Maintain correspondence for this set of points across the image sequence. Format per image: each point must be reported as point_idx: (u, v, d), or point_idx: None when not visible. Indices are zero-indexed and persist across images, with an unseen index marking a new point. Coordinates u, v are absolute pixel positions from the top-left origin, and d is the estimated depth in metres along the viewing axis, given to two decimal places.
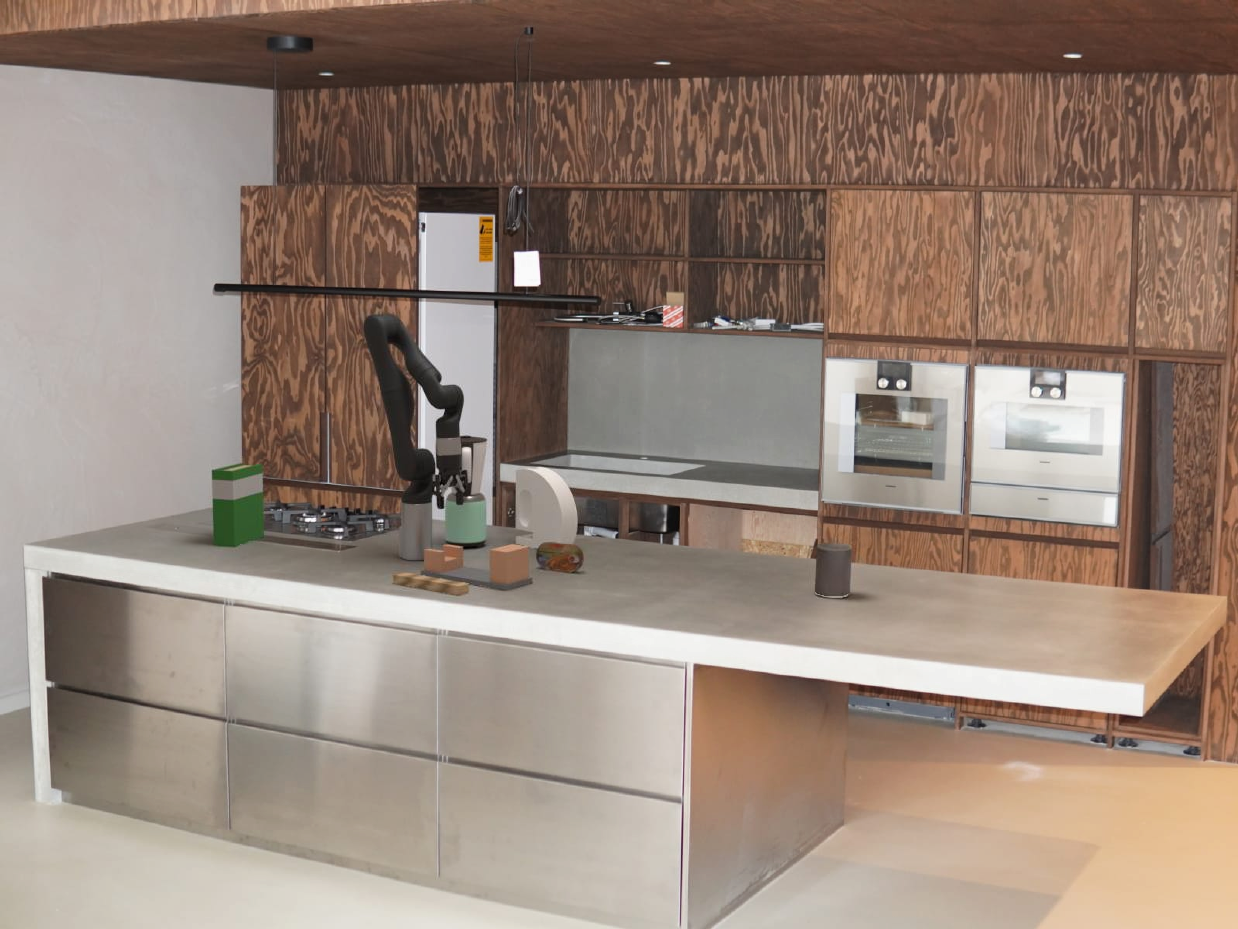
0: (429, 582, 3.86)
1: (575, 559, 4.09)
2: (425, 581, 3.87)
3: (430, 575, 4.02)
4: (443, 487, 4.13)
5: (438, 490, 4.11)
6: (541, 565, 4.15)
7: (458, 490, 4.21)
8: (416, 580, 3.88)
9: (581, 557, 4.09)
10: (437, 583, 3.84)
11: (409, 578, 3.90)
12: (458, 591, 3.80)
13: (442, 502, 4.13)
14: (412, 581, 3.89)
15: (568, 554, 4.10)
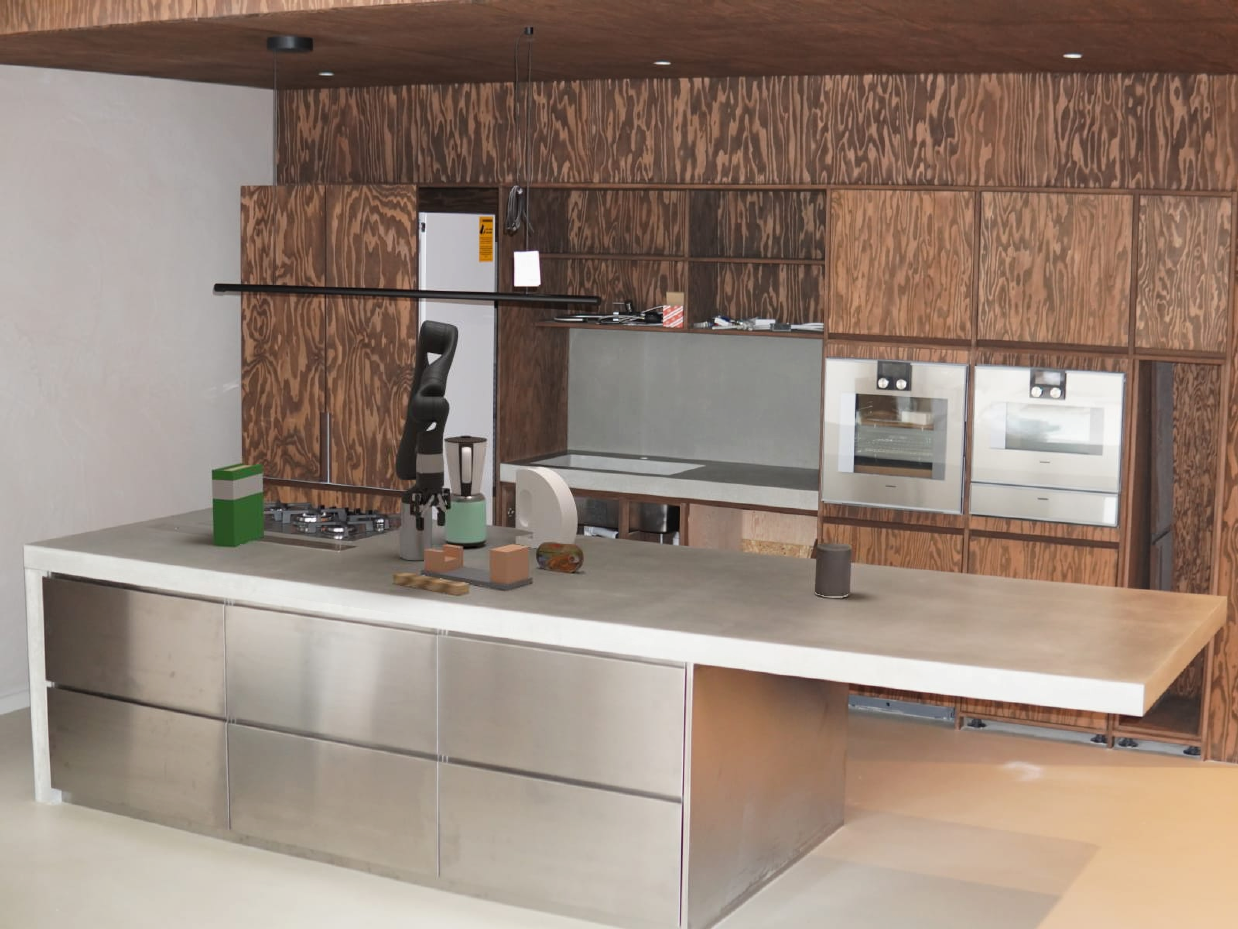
0: (429, 582, 3.86)
1: (575, 559, 4.09)
2: (425, 581, 3.87)
3: (430, 575, 4.02)
4: (423, 507, 3.82)
5: (418, 511, 3.79)
6: (541, 565, 4.15)
7: (440, 510, 3.89)
8: (416, 580, 3.88)
9: (581, 557, 4.09)
10: (437, 583, 3.84)
11: (409, 578, 3.90)
12: (458, 591, 3.80)
13: (422, 523, 3.82)
14: (412, 581, 3.89)
15: (568, 554, 4.10)
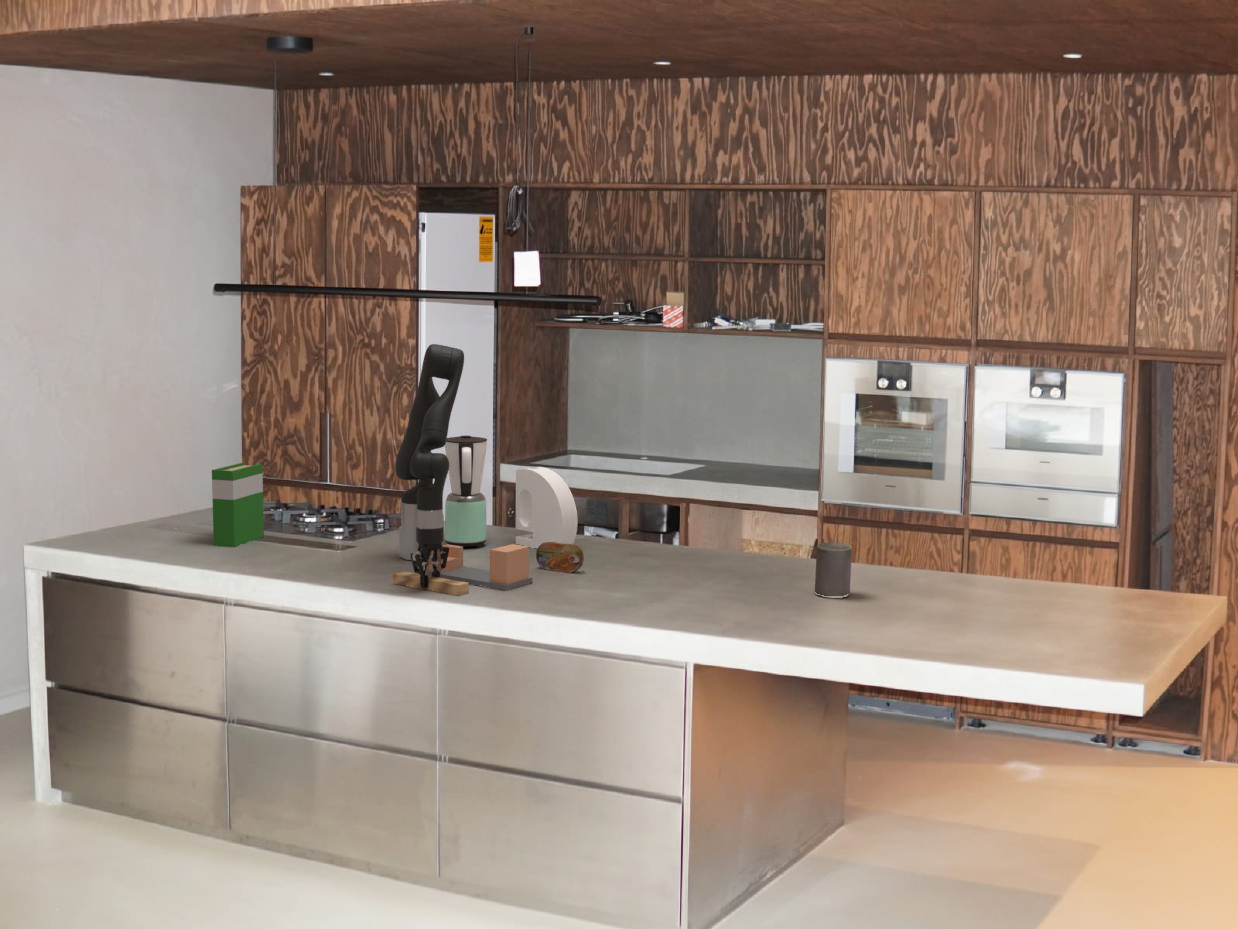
0: (429, 581, 3.86)
1: (575, 559, 4.09)
2: None
3: (430, 575, 4.02)
4: (426, 565, 3.84)
5: (422, 569, 3.83)
6: (541, 565, 4.15)
7: (434, 569, 3.89)
8: (416, 579, 3.88)
9: (581, 557, 4.09)
10: (437, 582, 3.84)
11: (409, 577, 3.90)
12: (458, 590, 3.80)
13: (426, 581, 3.85)
14: (412, 580, 3.89)
15: (568, 554, 4.10)
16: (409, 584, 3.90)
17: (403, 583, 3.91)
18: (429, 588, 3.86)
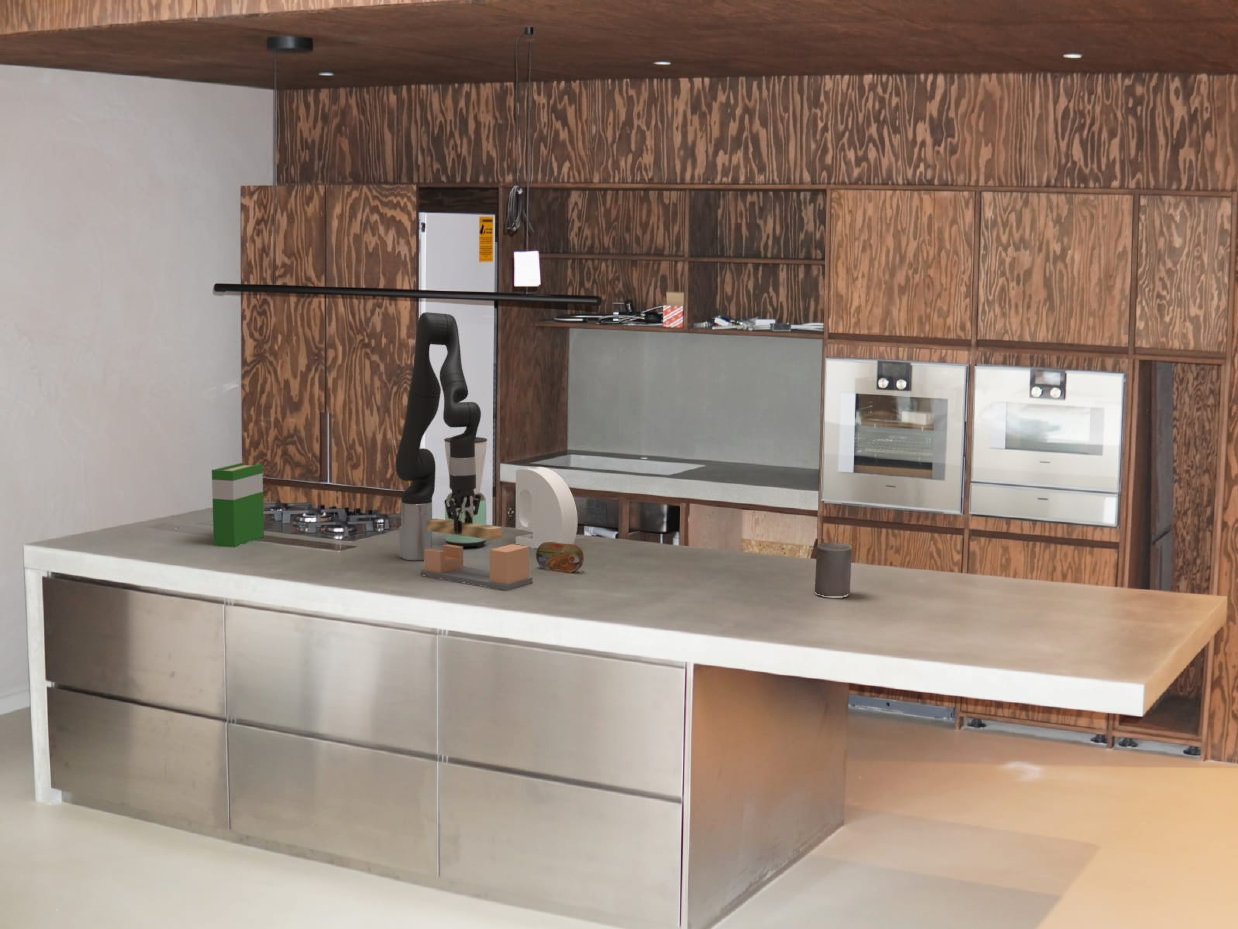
0: (462, 526, 3.98)
1: (575, 559, 4.09)
2: None
3: (430, 575, 4.02)
4: (459, 511, 3.97)
5: (456, 514, 3.96)
6: (541, 565, 4.15)
7: (467, 515, 4.02)
8: (450, 525, 4.01)
9: (581, 557, 4.09)
10: (470, 527, 3.97)
11: (443, 523, 4.02)
12: (491, 534, 3.93)
13: (459, 526, 3.98)
14: (446, 526, 4.02)
15: (568, 554, 4.10)
16: (443, 530, 4.03)
17: (437, 529, 4.04)
18: (463, 533, 3.99)
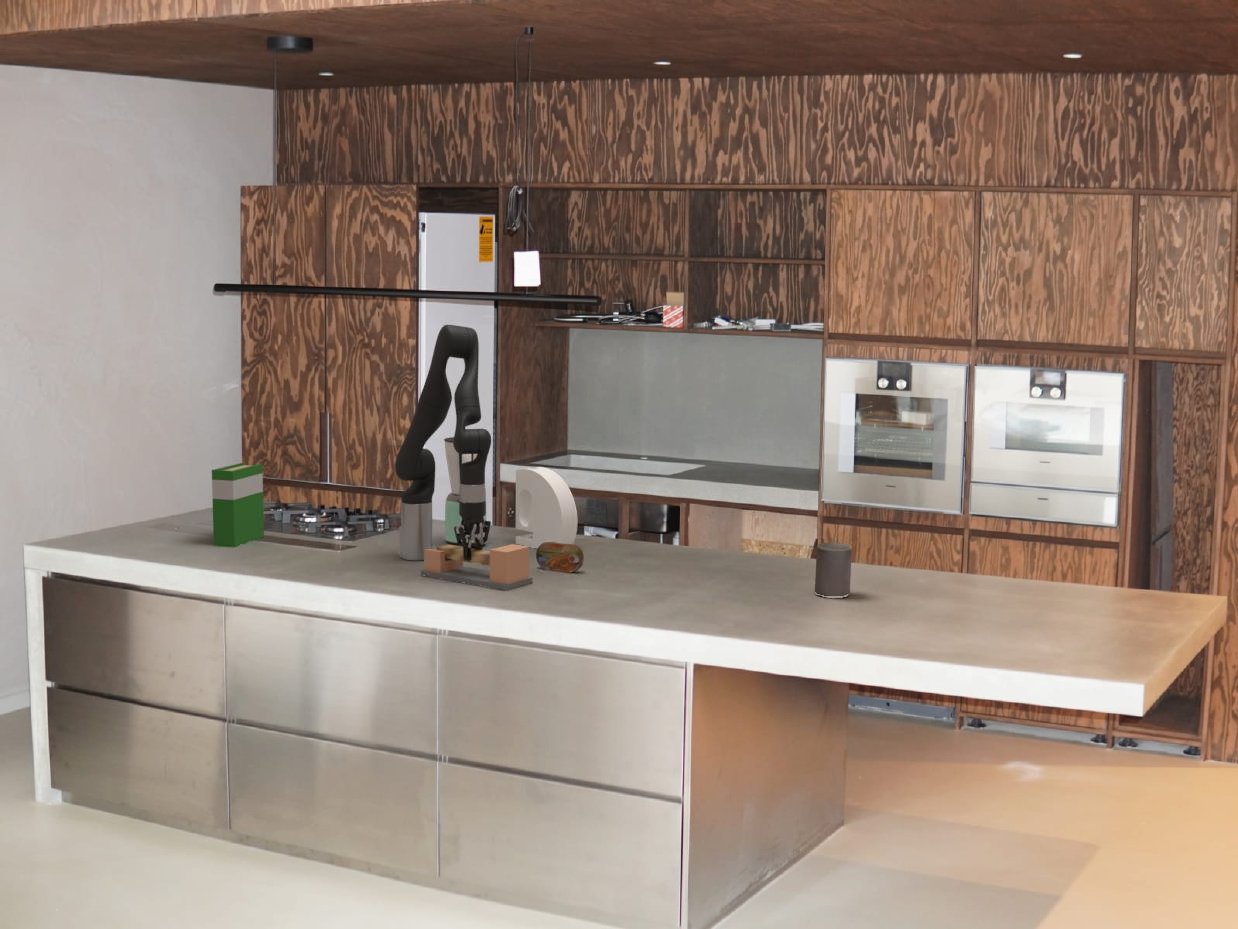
0: (472, 553, 3.97)
1: (575, 559, 4.09)
2: None
3: (430, 575, 4.02)
4: (469, 538, 3.96)
5: (465, 541, 3.95)
6: (541, 565, 4.15)
7: (477, 542, 4.01)
8: (459, 552, 4.00)
9: (581, 557, 4.09)
10: (480, 554, 3.95)
11: (452, 550, 4.01)
12: None
13: (469, 553, 3.97)
14: (455, 553, 4.01)
15: (568, 554, 4.10)
16: (452, 557, 4.01)
17: (446, 556, 4.03)
18: (472, 560, 3.97)
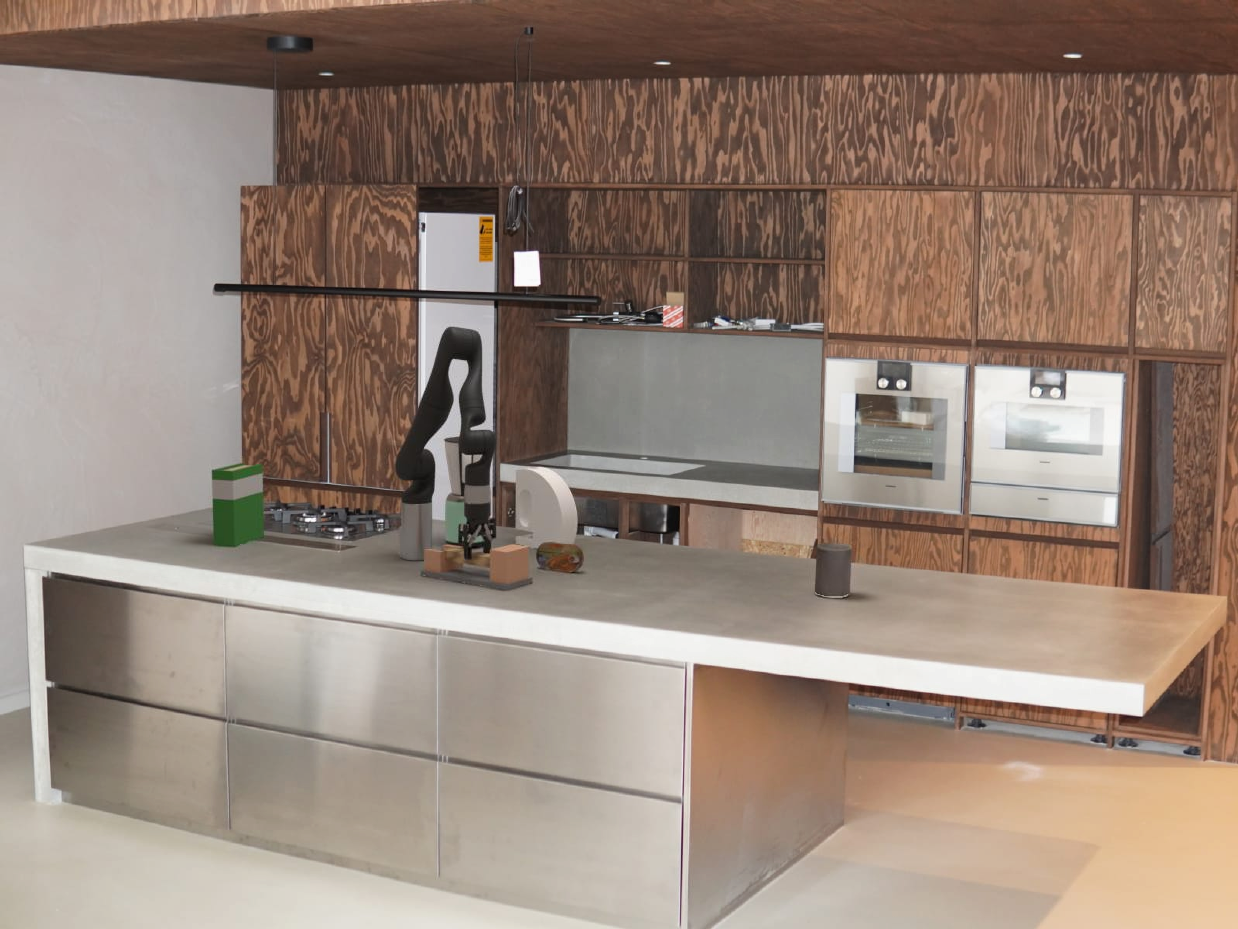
0: (477, 556, 3.96)
1: (575, 559, 4.09)
2: (473, 555, 3.97)
3: (430, 575, 4.02)
4: (471, 537, 3.94)
5: (466, 540, 3.92)
6: (541, 565, 4.15)
7: (486, 539, 4.02)
8: None
9: (581, 557, 4.09)
10: (485, 557, 3.95)
11: (457, 553, 4.00)
12: None
13: (469, 553, 3.94)
14: (460, 556, 4.00)
15: (568, 554, 4.10)
16: (457, 560, 4.01)
17: (451, 559, 4.02)
18: (477, 563, 3.97)
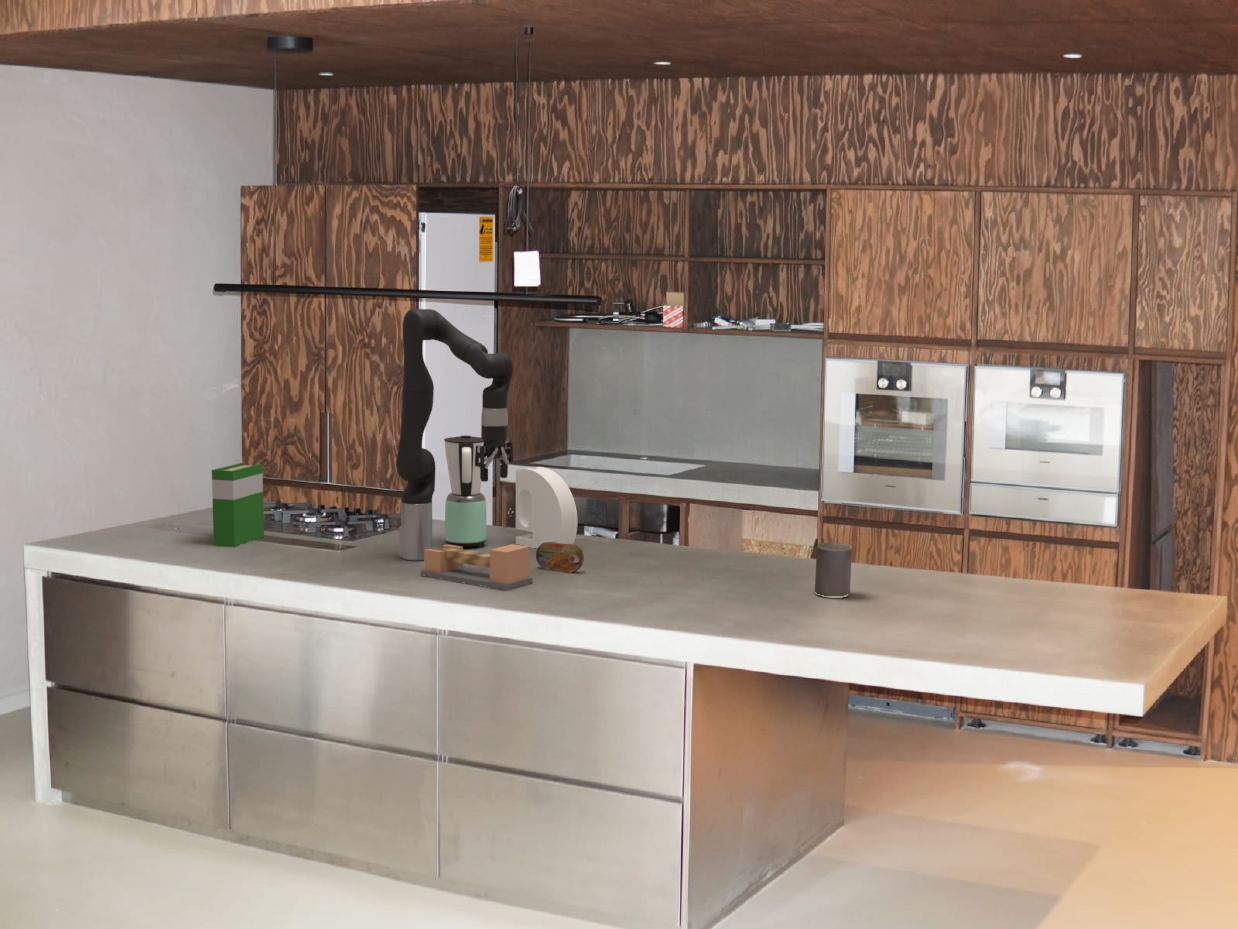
0: (477, 556, 3.96)
1: (575, 559, 4.09)
2: (473, 555, 3.97)
3: (430, 575, 4.02)
4: (487, 459, 4.00)
5: (482, 462, 3.98)
6: (541, 565, 4.15)
7: (502, 462, 4.07)
8: (464, 555, 3.99)
9: (581, 557, 4.09)
10: (485, 557, 3.95)
11: (457, 553, 4.00)
12: None
13: (486, 474, 4.00)
14: (460, 556, 4.00)
15: (568, 554, 4.10)
16: (457, 560, 4.01)
17: (451, 559, 4.02)
18: (477, 563, 3.97)
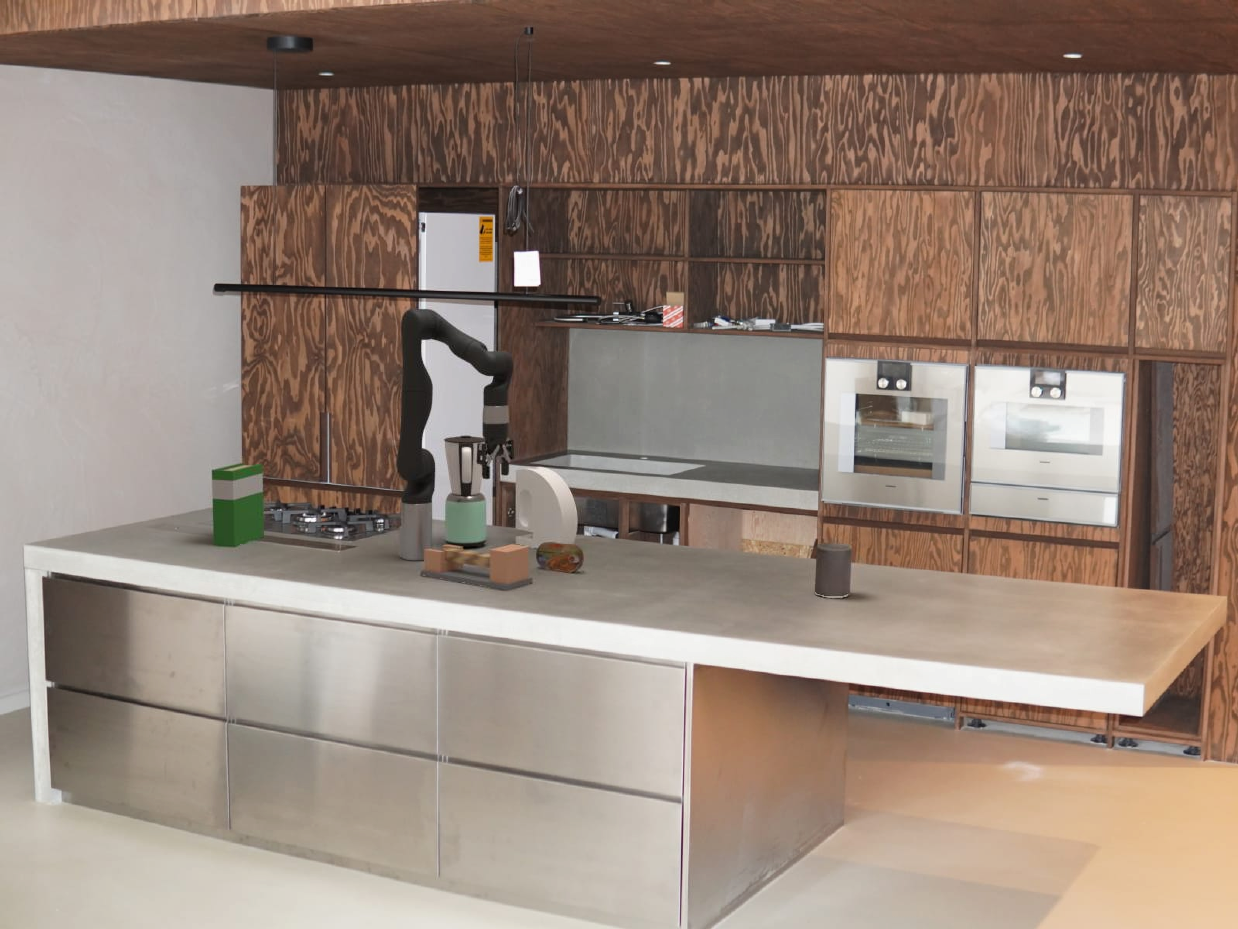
0: (477, 556, 3.96)
1: (575, 559, 4.09)
2: (473, 555, 3.97)
3: (430, 575, 4.02)
4: (489, 456, 4.00)
5: (484, 459, 3.98)
6: (541, 565, 4.15)
7: (504, 460, 4.08)
8: (464, 555, 3.99)
9: (581, 557, 4.09)
10: (485, 557, 3.95)
11: (457, 553, 4.00)
12: None
13: (488, 472, 4.00)
14: (460, 556, 4.00)
15: (568, 554, 4.10)
16: (457, 560, 4.01)
17: (451, 559, 4.02)
18: (477, 563, 3.97)
